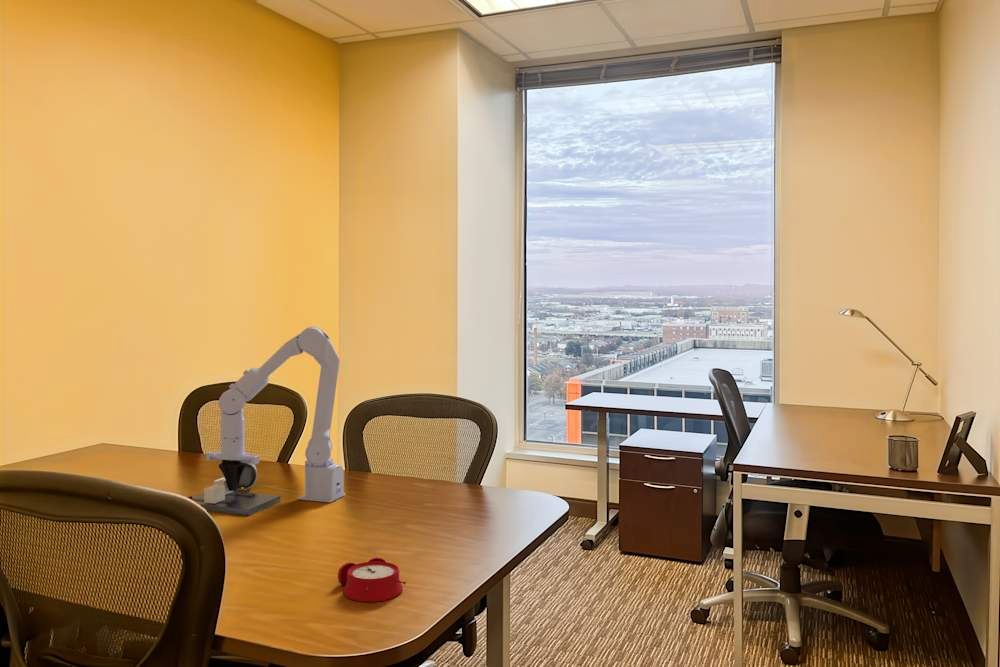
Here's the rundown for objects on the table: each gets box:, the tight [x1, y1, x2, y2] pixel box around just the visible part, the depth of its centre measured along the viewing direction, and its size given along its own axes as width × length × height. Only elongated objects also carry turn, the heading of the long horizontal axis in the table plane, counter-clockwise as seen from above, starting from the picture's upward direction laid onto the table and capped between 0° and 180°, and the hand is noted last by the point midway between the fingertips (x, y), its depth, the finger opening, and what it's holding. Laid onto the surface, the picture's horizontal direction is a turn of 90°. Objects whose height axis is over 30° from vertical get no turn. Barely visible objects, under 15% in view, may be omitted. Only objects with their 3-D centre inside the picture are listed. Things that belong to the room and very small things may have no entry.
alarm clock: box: [337, 557, 407, 603], centre depth 142 cm, size 10×6×15 cm
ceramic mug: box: [236, 463, 258, 491], centre depth 213 cm, size 11×8×8 cm
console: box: [187, 490, 281, 516], centre depth 196 cm, size 20×13×2 cm, turn 72°
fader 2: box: [213, 476, 234, 495], centre depth 201 cm, size 3×4×4 cm
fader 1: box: [203, 484, 225, 504], centre depth 193 cm, size 3×4×4 cm
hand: (233, 490), depth 200 cm, fingers closed
